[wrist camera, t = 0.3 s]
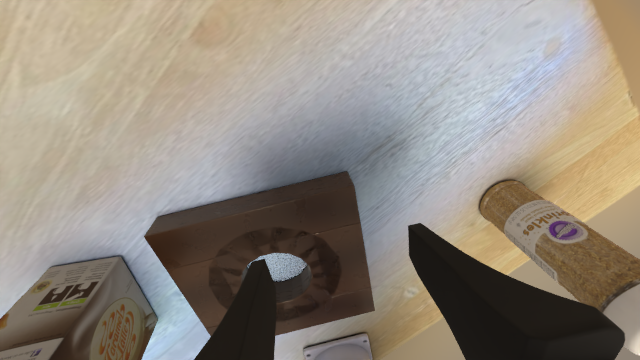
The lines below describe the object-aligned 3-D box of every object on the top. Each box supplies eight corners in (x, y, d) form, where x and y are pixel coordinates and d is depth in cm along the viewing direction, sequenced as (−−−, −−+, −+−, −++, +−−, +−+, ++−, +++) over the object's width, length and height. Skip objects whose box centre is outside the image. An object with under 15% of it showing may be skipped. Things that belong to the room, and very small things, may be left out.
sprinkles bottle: (512, 169, 25) (725, 292, 13) (530, 199, 27) (728, 329, 15) (469, 200, 26) (628, 341, 14) (488, 227, 28) (643, 370, 16)
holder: (367, 290, 30) (374, 310, 28) (224, 326, 30) (219, 349, 27) (347, 170, 23) (354, 185, 20) (156, 216, 22) (143, 236, 20)
